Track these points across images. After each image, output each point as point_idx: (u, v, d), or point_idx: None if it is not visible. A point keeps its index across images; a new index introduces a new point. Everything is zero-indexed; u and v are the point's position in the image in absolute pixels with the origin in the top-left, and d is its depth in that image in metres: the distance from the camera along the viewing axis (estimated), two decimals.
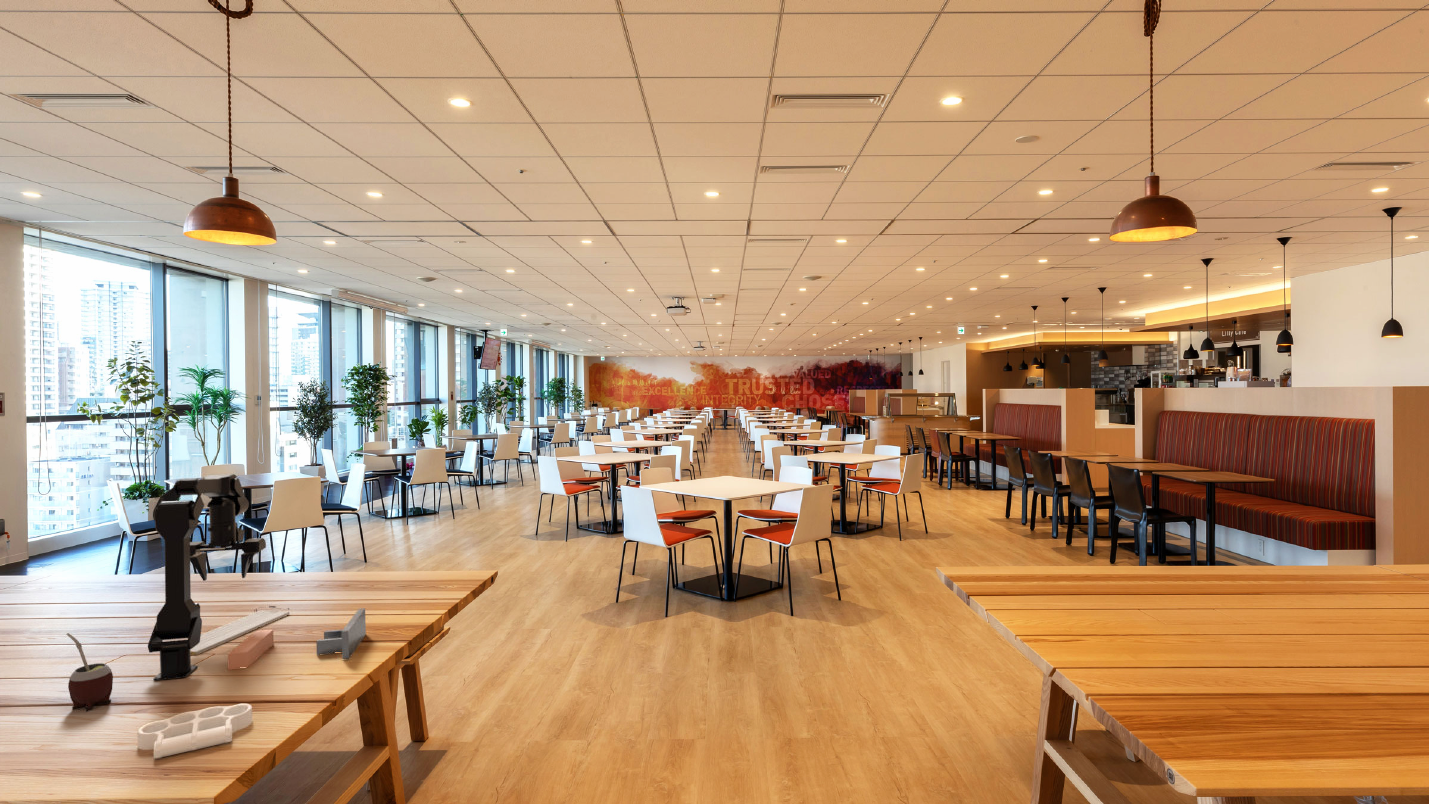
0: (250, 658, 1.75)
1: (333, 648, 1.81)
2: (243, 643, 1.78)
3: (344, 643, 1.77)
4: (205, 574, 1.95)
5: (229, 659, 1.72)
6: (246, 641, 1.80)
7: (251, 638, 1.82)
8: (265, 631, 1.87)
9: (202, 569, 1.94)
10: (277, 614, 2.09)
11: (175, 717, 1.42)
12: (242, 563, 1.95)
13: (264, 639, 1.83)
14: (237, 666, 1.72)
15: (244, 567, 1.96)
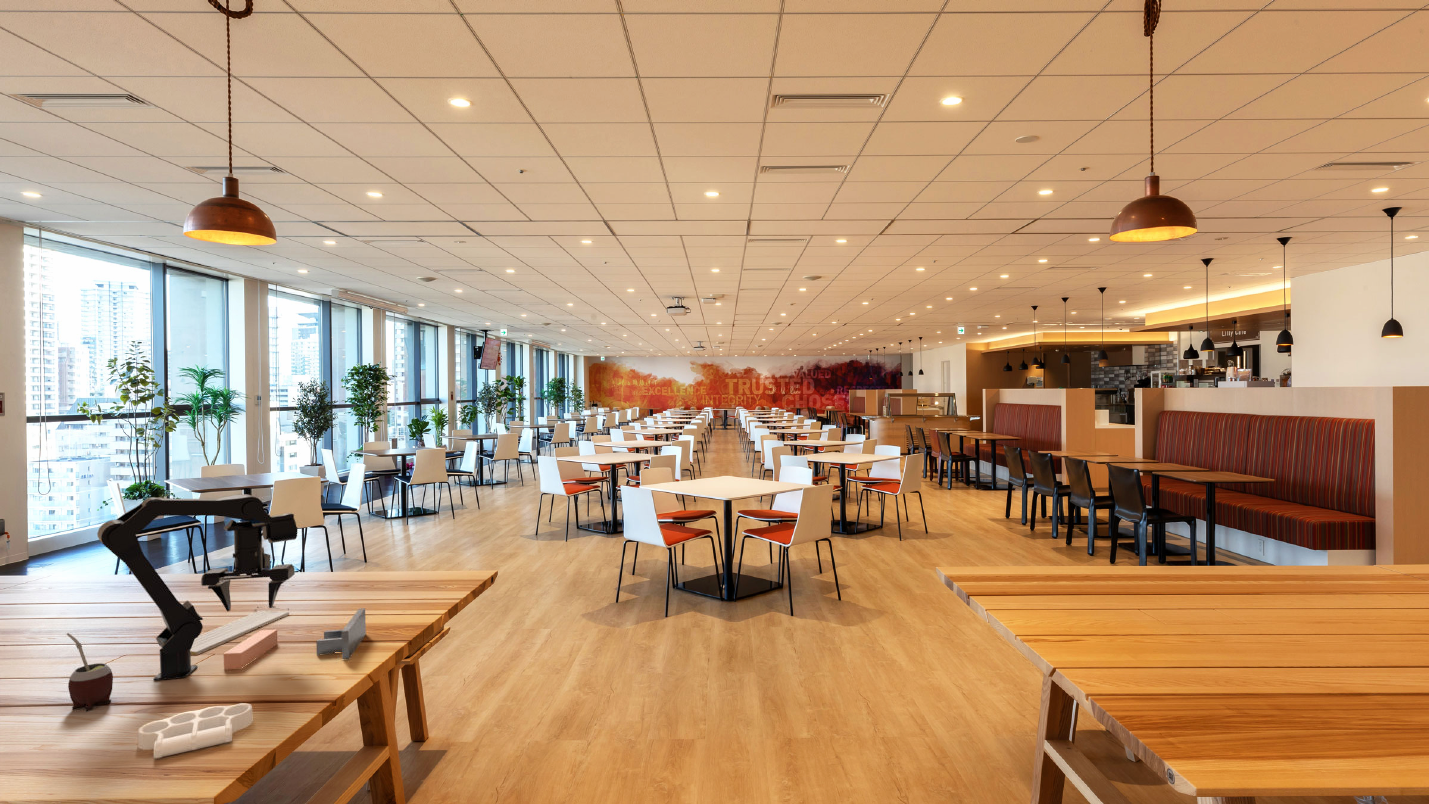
0: (246, 659, 1.74)
1: (333, 648, 1.81)
2: (243, 643, 1.79)
3: (344, 643, 1.77)
4: (229, 604, 1.79)
5: (225, 659, 1.72)
6: (246, 641, 1.80)
7: (253, 637, 1.82)
8: (268, 631, 1.87)
9: (226, 599, 1.77)
10: (277, 614, 2.09)
11: (175, 717, 1.42)
12: (270, 592, 1.79)
13: (265, 639, 1.83)
14: (232, 666, 1.72)
15: (272, 596, 1.79)
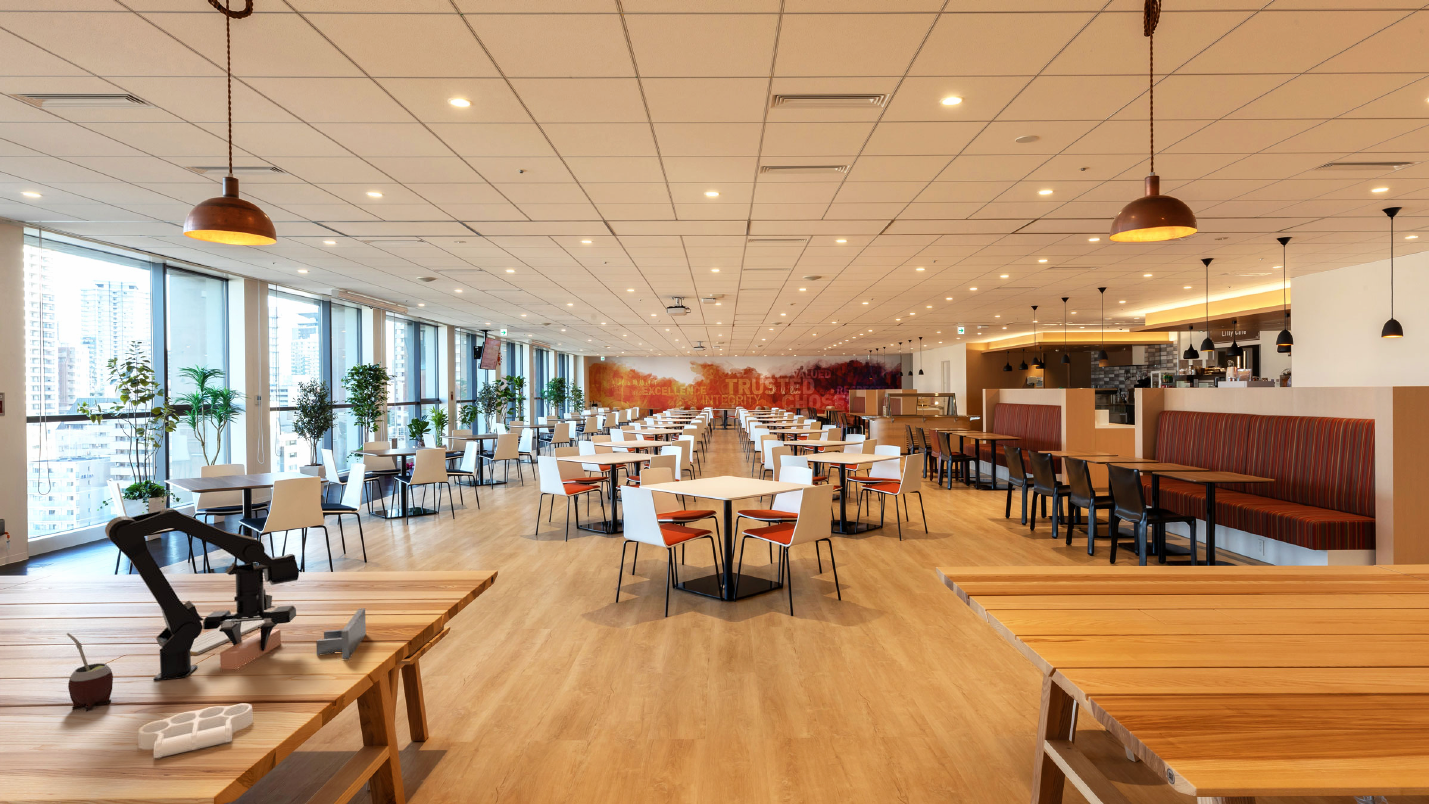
0: (242, 658, 1.74)
1: (333, 648, 1.81)
2: (242, 642, 1.79)
3: (344, 643, 1.77)
4: None
5: (221, 658, 1.72)
6: (247, 640, 1.80)
7: (254, 637, 1.82)
8: (271, 631, 1.86)
9: (237, 641, 1.78)
10: None
11: (176, 717, 1.42)
12: (262, 635, 1.79)
13: None
14: (228, 666, 1.72)
15: (264, 640, 1.79)
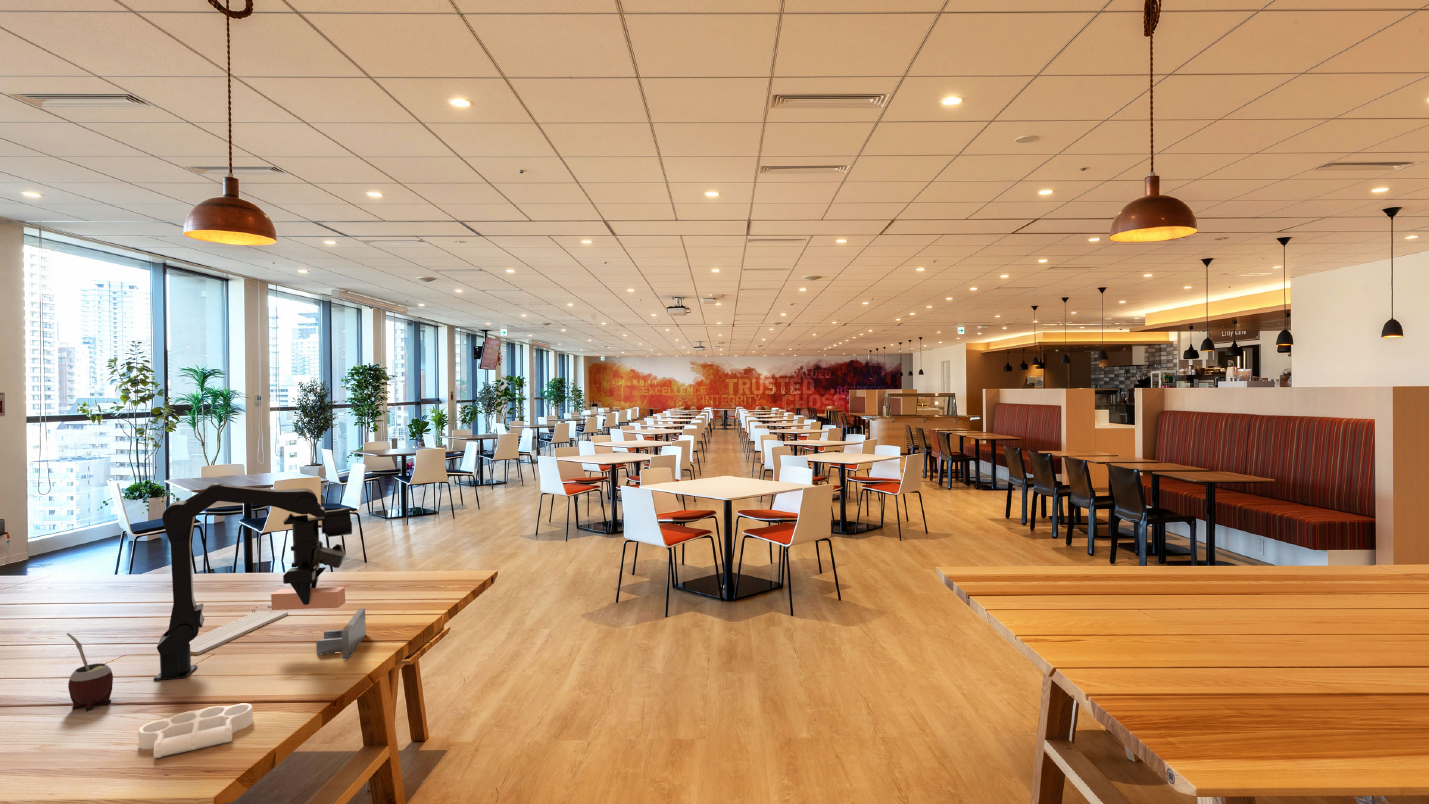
0: (279, 602, 1.81)
1: (333, 648, 1.81)
2: None
3: (344, 643, 1.77)
4: None
5: None
6: None
7: (319, 589, 1.84)
8: (333, 590, 1.82)
9: None
10: (276, 614, 2.09)
11: (176, 716, 1.42)
12: None
13: (314, 595, 1.81)
14: None
15: None
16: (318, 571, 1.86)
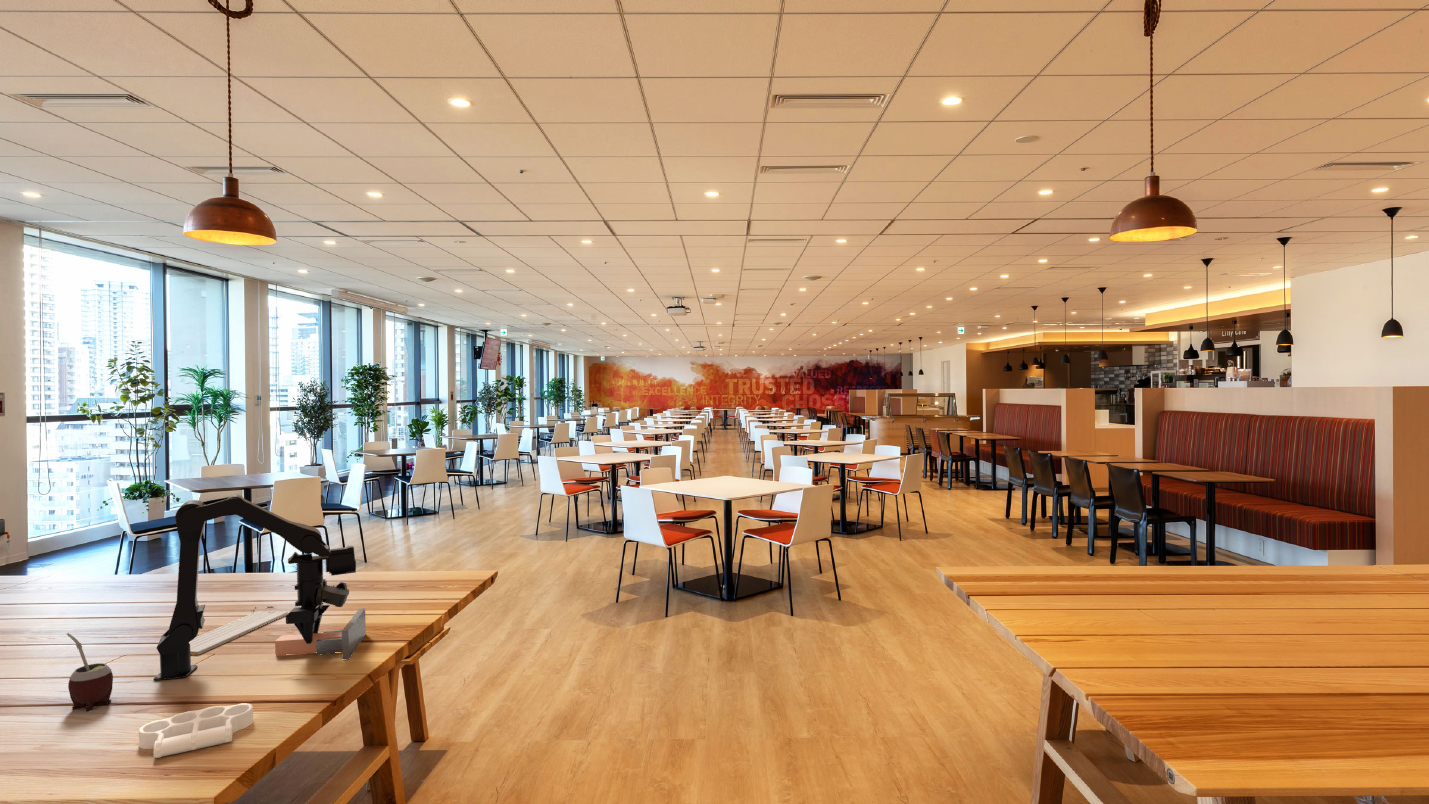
0: (284, 649, 1.80)
1: (333, 648, 1.81)
2: None
3: (344, 643, 1.77)
4: (314, 631, 1.85)
5: None
6: (313, 634, 1.84)
7: (323, 634, 1.84)
8: (340, 635, 1.84)
9: None
10: (276, 614, 2.09)
11: (176, 716, 1.42)
12: None
13: None
14: None
15: None
16: (322, 609, 1.86)
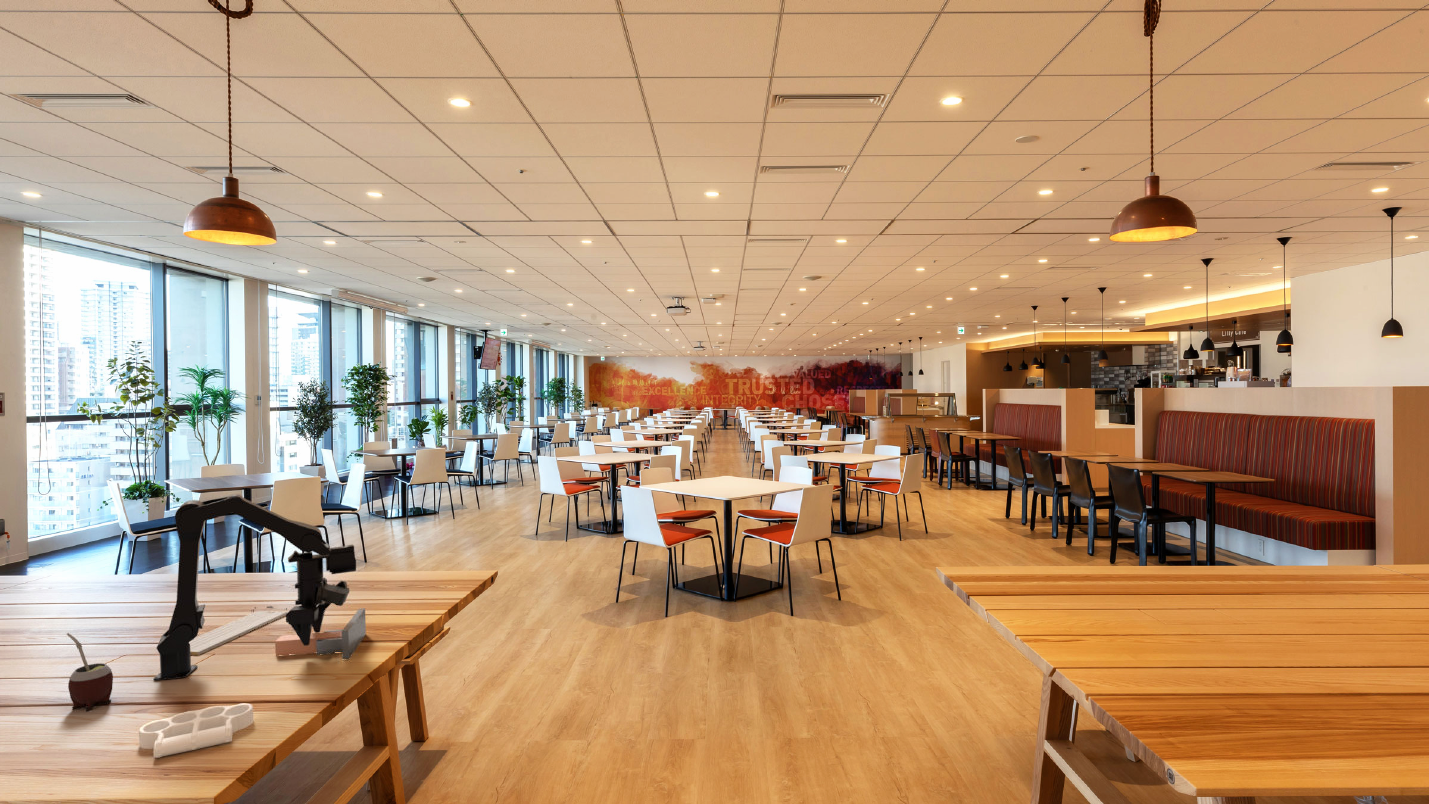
0: (284, 649, 1.80)
1: (333, 648, 1.81)
2: None
3: (344, 643, 1.77)
4: (316, 626, 1.88)
5: None
6: (314, 634, 1.84)
7: (324, 634, 1.85)
8: (340, 634, 1.84)
9: None
10: (275, 614, 2.09)
11: (177, 716, 1.42)
12: None
13: None
14: None
15: None
16: (324, 605, 1.88)
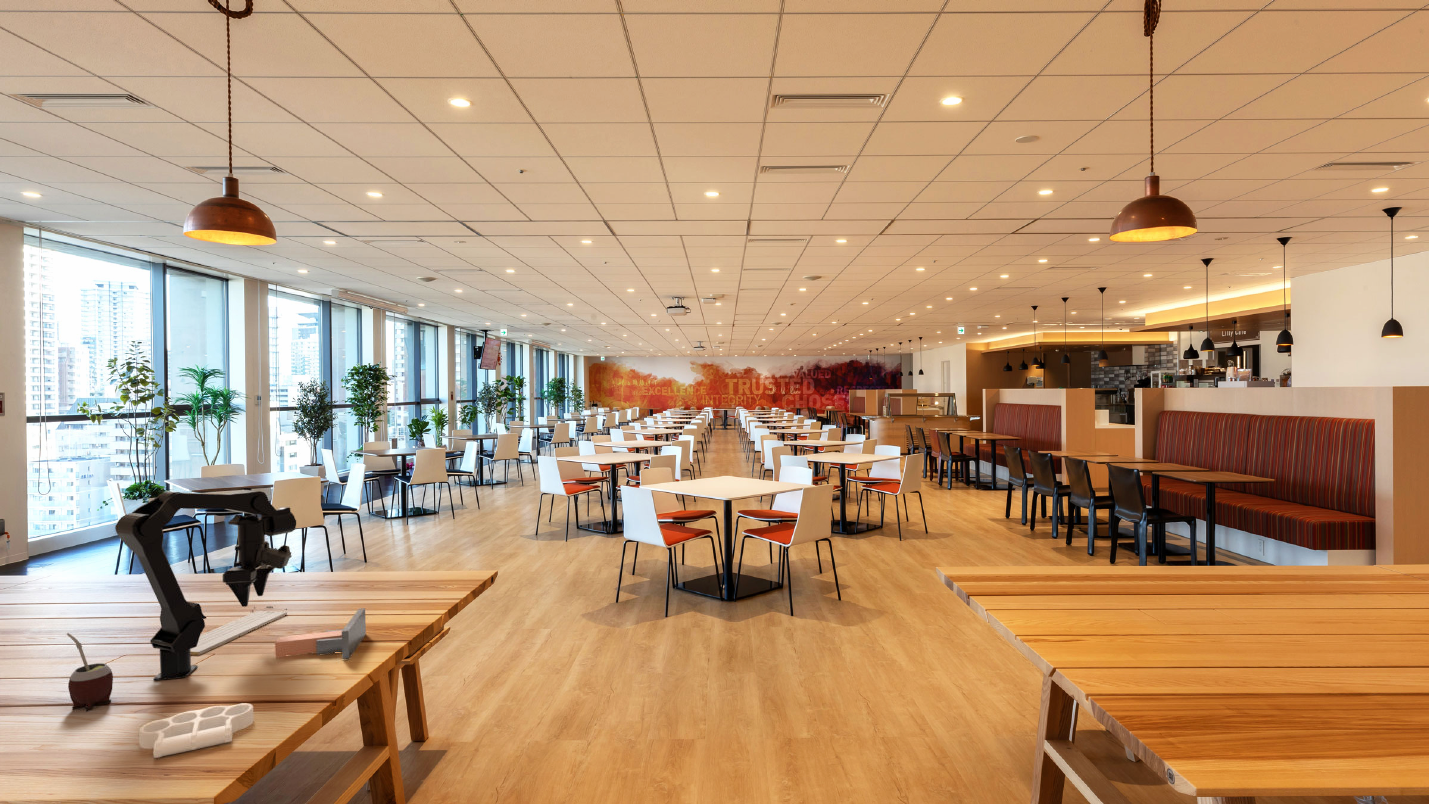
0: (284, 650, 1.80)
1: (333, 648, 1.81)
2: (308, 634, 1.84)
3: (344, 643, 1.77)
4: (259, 590, 1.90)
5: None
6: (313, 634, 1.84)
7: (323, 633, 1.85)
8: (341, 633, 1.85)
9: (255, 583, 1.90)
10: (275, 614, 2.09)
11: (177, 716, 1.42)
12: None
13: None
14: None
15: None
16: (268, 569, 1.91)
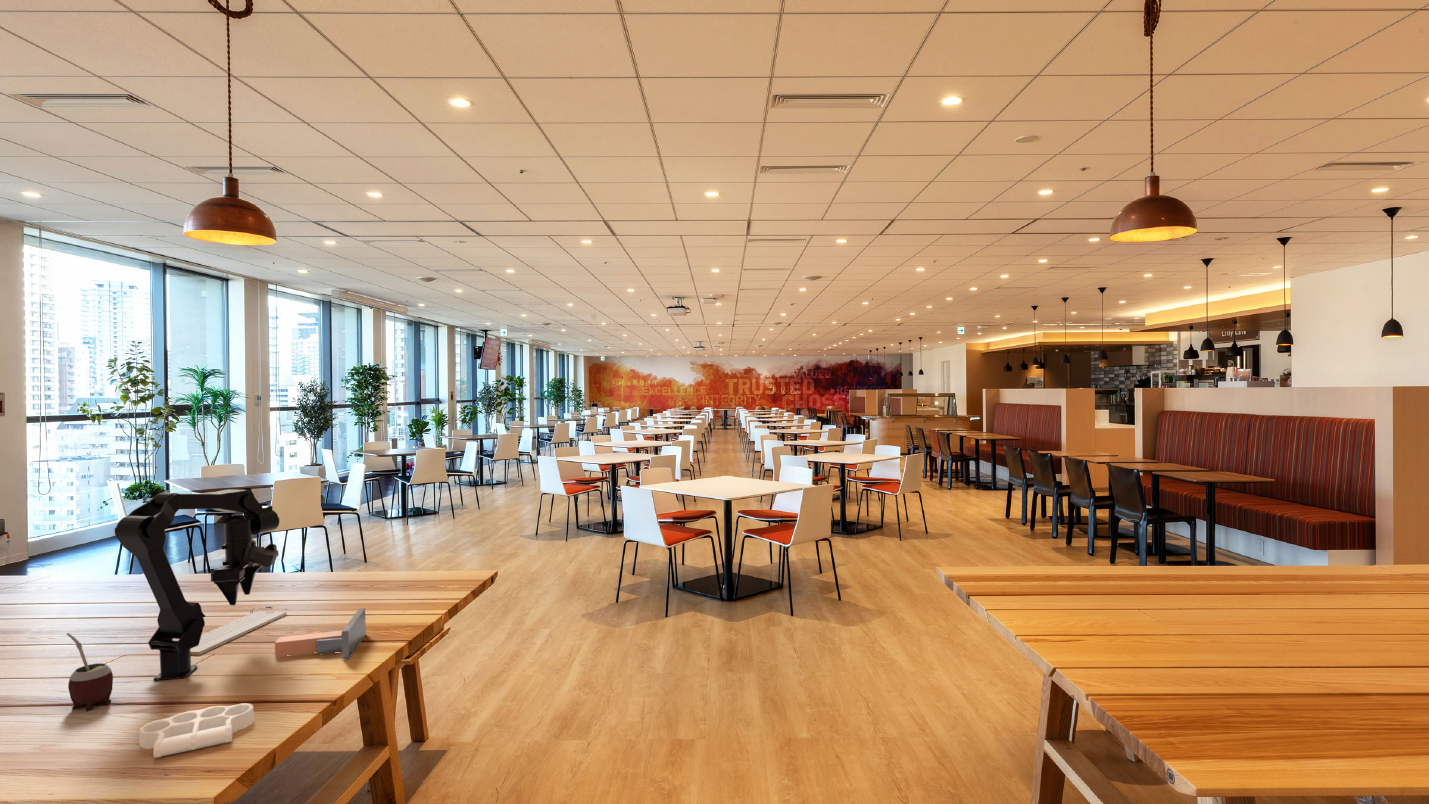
0: (284, 650, 1.79)
1: (333, 648, 1.81)
2: (308, 635, 1.84)
3: (344, 643, 1.77)
4: (246, 588, 1.91)
5: None
6: (313, 634, 1.84)
7: (323, 633, 1.85)
8: (341, 633, 1.85)
9: (241, 582, 1.90)
10: (275, 614, 2.09)
11: (177, 716, 1.42)
12: None
13: None
14: None
15: None
16: (254, 568, 1.91)
